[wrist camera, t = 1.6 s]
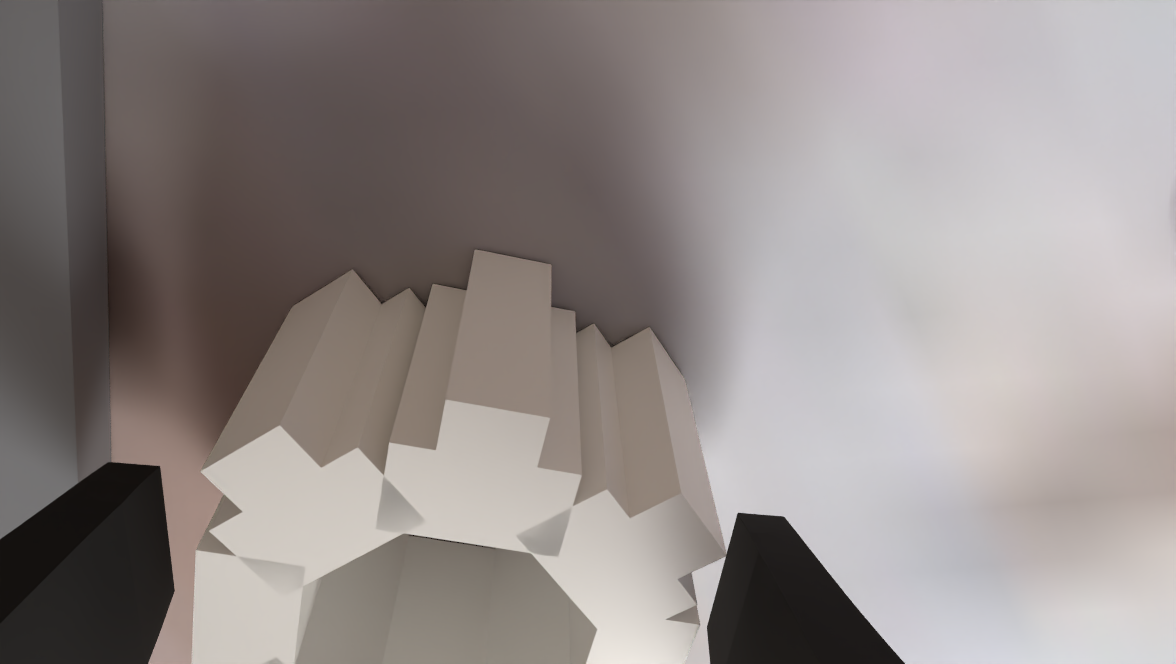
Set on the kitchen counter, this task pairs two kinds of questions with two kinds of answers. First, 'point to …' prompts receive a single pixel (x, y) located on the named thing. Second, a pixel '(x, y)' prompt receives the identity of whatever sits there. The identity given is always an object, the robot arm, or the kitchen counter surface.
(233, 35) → the kitchen counter surface
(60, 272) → the gear board
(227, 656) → the loose gear
